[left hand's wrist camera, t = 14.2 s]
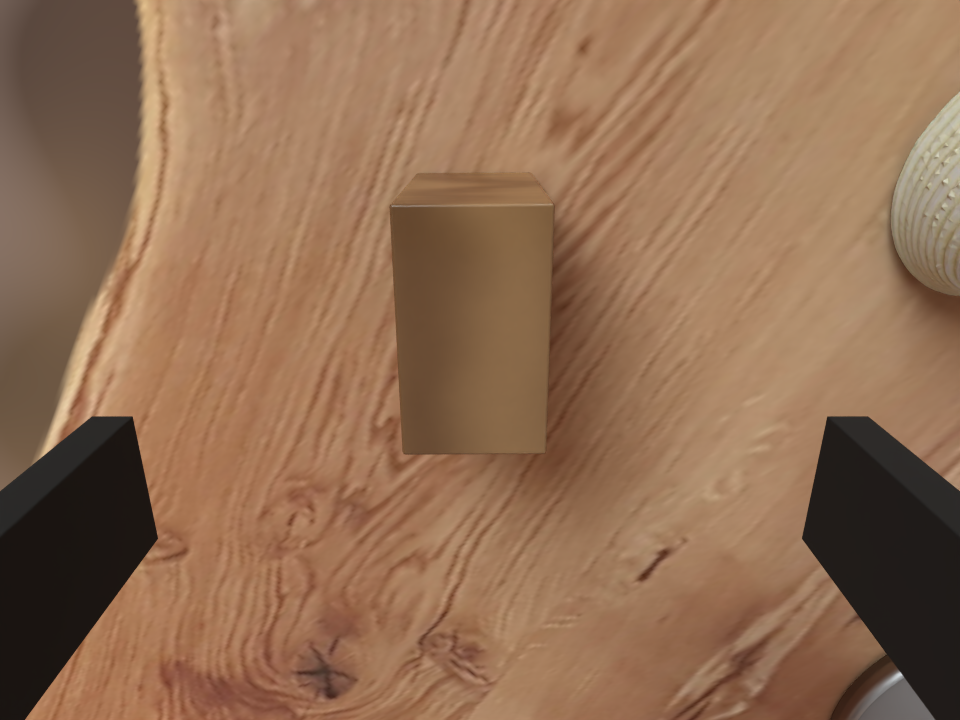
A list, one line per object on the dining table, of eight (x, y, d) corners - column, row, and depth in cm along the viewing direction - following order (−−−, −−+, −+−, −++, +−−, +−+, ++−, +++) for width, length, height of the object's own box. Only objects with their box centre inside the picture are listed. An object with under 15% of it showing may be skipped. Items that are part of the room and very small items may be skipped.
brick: (532, 172, 28) (555, 203, 20) (528, 358, 31) (546, 455, 23) (416, 173, 28) (389, 204, 20) (423, 359, 31) (402, 455, 23)
